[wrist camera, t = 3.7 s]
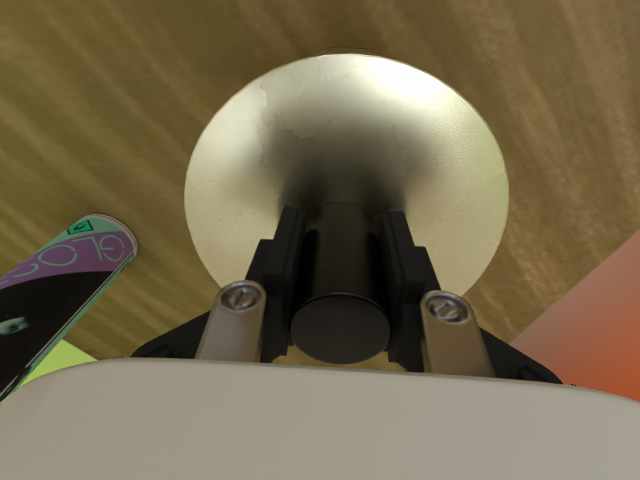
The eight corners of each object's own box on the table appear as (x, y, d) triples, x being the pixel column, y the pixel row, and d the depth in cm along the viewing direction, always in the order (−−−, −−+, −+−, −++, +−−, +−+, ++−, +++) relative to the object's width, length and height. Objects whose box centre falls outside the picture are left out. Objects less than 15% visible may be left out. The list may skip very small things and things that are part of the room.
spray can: (133, 219, 29) (-155, 487, 12) (141, 267, 32) (-81, 535, 15) (70, 208, 29) (-313, 465, 12) (84, 257, 32) (-206, 518, 15)
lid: (162, 46, 11) (-5, 65, 6) (549, 55, 10) (757, 85, 5) (219, 314, 18) (167, 434, 12) (454, 327, 17) (501, 459, 12)
